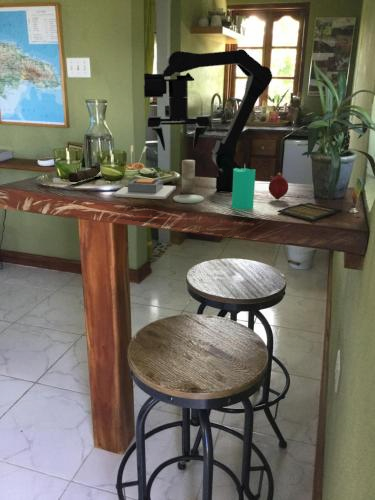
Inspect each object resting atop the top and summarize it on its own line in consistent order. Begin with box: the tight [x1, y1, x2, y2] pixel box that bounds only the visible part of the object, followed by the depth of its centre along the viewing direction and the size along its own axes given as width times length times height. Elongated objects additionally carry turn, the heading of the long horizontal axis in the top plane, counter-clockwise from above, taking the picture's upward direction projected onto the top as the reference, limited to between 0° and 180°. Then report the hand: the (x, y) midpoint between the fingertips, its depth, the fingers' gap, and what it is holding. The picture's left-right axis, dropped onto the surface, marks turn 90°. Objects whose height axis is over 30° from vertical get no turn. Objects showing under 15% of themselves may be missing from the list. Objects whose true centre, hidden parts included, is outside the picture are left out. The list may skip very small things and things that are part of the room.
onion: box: [268, 172, 289, 200], centre depth 134 cm, size 6×6×8 cm
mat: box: [173, 194, 205, 204], centre depth 133 cm, size 9×9×1 cm
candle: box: [231, 164, 257, 210], centre depth 124 cm, size 6×6×12 cm
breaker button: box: [136, 178, 156, 184], centre depth 141 cm, size 5×5×1 cm
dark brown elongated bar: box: [67, 163, 101, 183], centre depth 157 cm, size 19×4×5 cm, turn 154°
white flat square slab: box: [112, 178, 177, 200], centre depth 141 cm, size 16×16×3 cm
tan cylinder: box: [181, 159, 196, 195], centre depth 141 cm, size 4×4×10 cm
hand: (179, 150), depth 140 cm, fingers open, 9 cm apart
